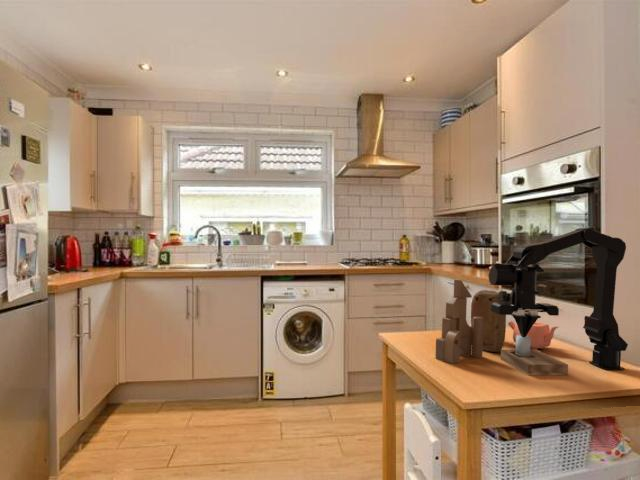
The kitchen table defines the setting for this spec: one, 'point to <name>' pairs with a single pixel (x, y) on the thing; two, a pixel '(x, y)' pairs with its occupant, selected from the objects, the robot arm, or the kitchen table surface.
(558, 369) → the board
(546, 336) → the teapot
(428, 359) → the kitchen table surface
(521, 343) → the peg
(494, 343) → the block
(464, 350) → the wooden toy
